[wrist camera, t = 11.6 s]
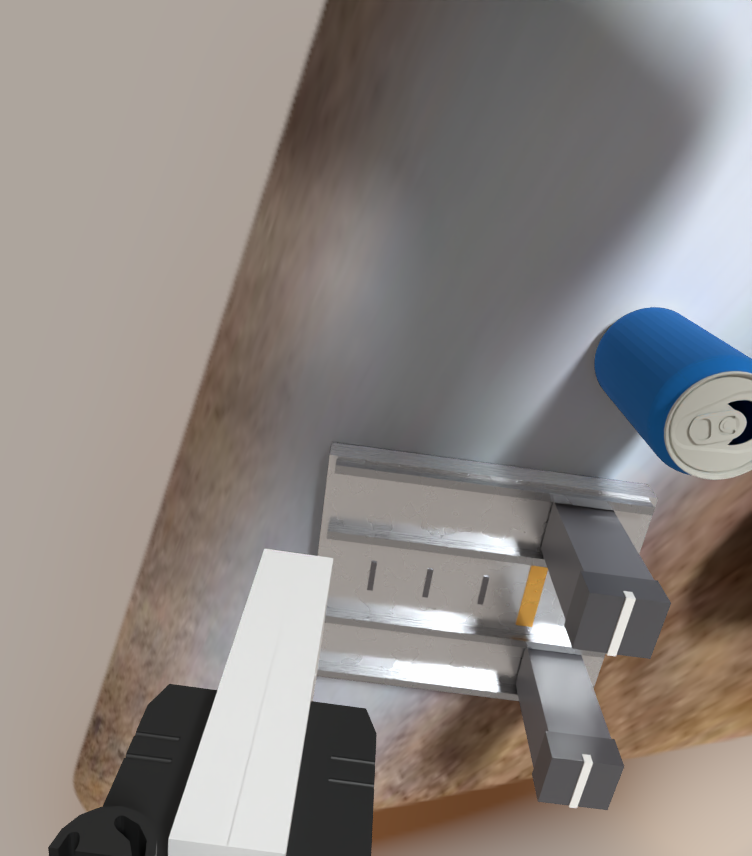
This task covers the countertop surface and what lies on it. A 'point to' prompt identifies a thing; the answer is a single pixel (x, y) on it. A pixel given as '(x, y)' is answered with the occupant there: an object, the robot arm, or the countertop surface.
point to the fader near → (602, 583)
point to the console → (449, 567)
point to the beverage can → (680, 391)
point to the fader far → (566, 731)
